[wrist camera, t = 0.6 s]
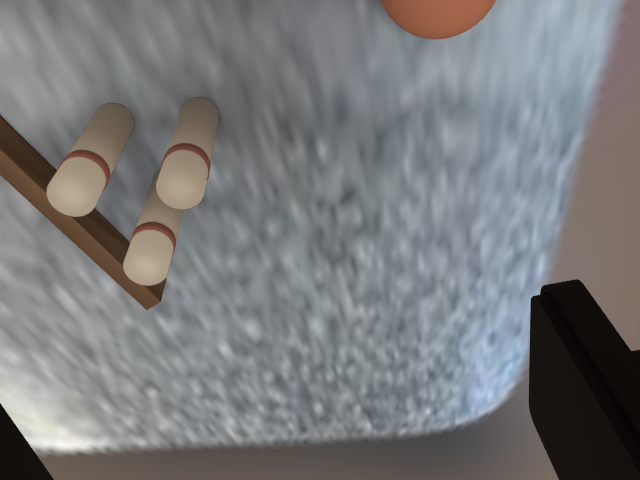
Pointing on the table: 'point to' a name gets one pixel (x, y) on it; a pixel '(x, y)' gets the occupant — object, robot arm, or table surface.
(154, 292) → the walnut rail
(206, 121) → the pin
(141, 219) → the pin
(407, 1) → the ball
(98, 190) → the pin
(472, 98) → the table surface
